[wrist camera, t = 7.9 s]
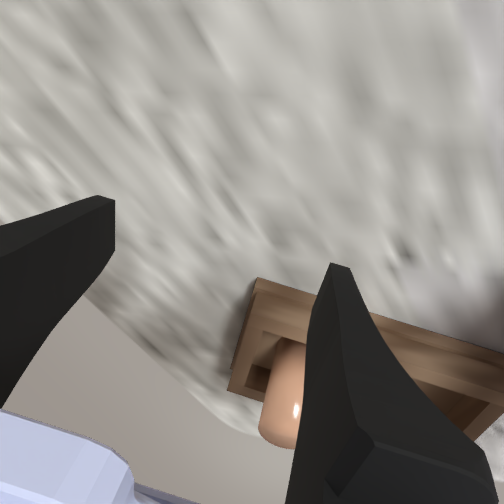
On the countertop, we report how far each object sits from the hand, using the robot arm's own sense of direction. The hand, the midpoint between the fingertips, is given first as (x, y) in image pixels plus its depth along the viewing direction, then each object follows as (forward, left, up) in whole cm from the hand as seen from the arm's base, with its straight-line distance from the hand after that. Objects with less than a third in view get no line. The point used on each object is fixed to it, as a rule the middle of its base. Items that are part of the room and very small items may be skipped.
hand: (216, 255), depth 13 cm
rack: (-9, +12, -10) cm, 18 cm away
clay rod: (-5, +12, -8) cm, 16 cm away
